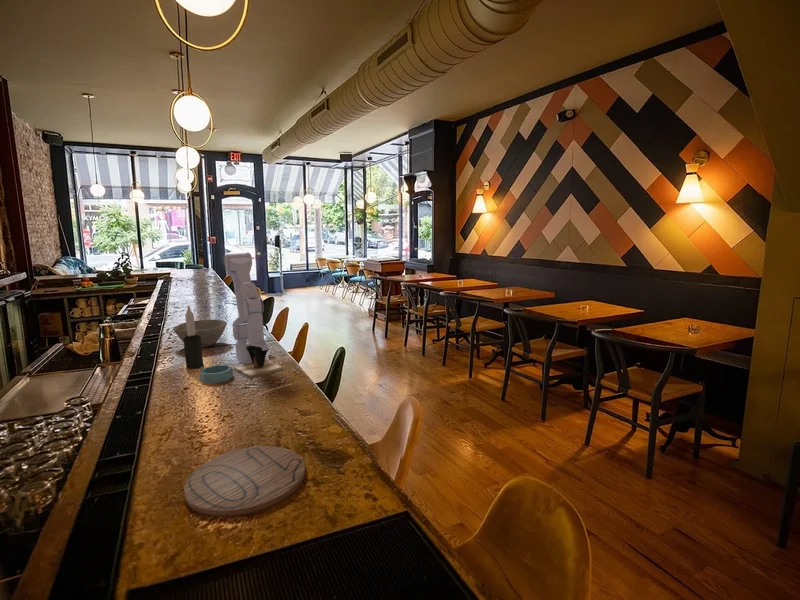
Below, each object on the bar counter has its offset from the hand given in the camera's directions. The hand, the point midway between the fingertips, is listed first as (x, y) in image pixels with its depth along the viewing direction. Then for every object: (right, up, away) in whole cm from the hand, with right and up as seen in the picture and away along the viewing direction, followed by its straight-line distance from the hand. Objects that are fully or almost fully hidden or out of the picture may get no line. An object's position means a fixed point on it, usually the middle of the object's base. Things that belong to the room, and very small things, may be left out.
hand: (258, 365), depth 171 cm
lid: (0, -2, 0) cm, 2 cm away
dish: (-12, -4, -8) cm, 15 cm away
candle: (-27, -2, +6) cm, 27 cm away
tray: (0, -2, 0) cm, 2 cm away
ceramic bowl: (-38, +3, +38) cm, 54 cm away
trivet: (+20, -16, -72) cm, 77 cm away
